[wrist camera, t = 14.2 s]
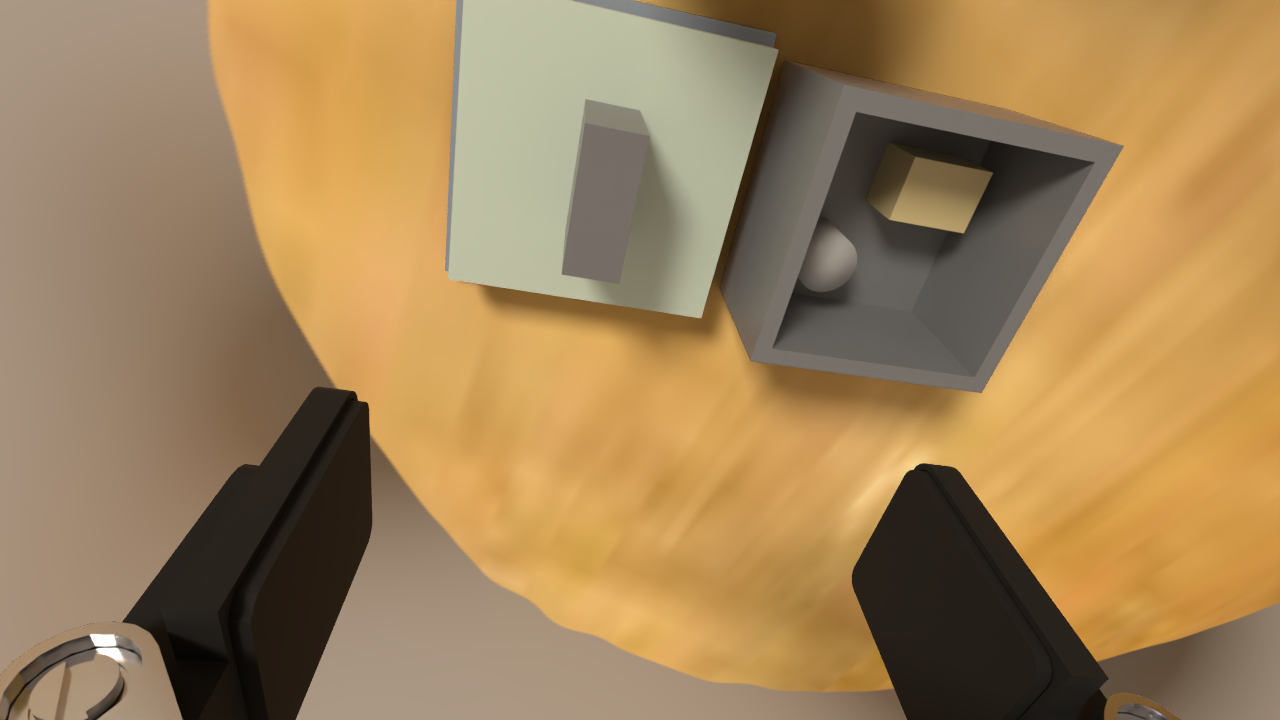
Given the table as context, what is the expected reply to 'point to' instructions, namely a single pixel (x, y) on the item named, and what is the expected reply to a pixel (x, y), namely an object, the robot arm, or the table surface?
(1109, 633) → the table surface
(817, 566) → the table surface
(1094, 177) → the parts tub
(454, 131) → the mat
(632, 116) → the lid
